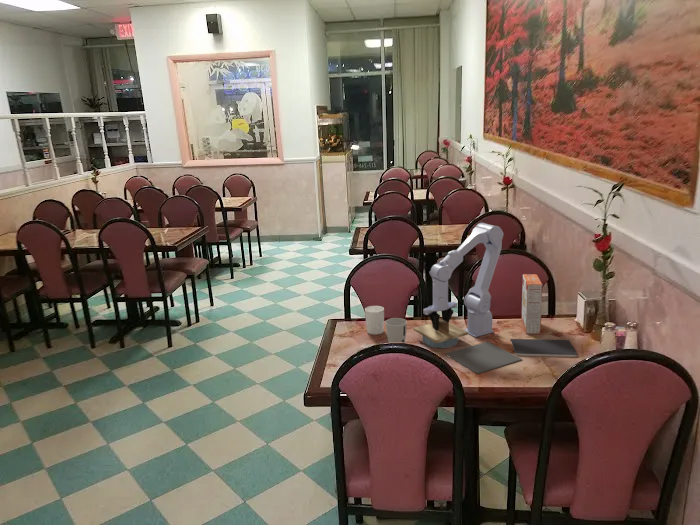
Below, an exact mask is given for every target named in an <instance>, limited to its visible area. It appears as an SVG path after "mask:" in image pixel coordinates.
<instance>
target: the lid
mask: <svg viewBox="0 0 700 525" xmlns="http://www.w3.org/2000/svg"><path fill="white" fill-rule="evenodd" d="M463 329H464V328H461V327H458V325H455V324H453V323H451V322H449V323H448V322H446V321H444V320H442V318H439V326H438V330H435V329H434V328H433V324H432V322H431V323H428V324H427V323H426V324H423V325H420V326H416V327H413V331H415V332H416V333H418V335H421V336H422V337H423V336H424V337H426V338H428V339H430V340H431V341H433V342H435V343H439V342H443V341H447V340H450V339H454V338H458V337H459V338H461V337H466V336H468V335H469V334H468V332H467V331H465V330H463Z"/></svg>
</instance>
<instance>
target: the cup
mask: <svg viewBox="0 0 700 525" xmlns="http://www.w3.org/2000/svg"><path fill="white" fill-rule="evenodd" d="M384 324H385V329H386V330H385V331H386V336H387V341H388V343H389V342H403V343H404V344H405V342H406V337H407V327H408V326H407V324H408V321H407V319H404V318H401V317H391V318H388V319H387V320H385V321H384Z"/></svg>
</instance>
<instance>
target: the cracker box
mask: <svg viewBox="0 0 700 525" xmlns="http://www.w3.org/2000/svg"><path fill="white" fill-rule="evenodd" d="M521 291H522V292H521V293H522V294H521V298H522V299H521V322H522V326H523V329H524V332H525V334H526V335H541V332H542V331H541V330H542V329H541V328H542V326H541V325H542V303H543V283H542V281H541V280H540V278H539V276H538V274H536V273H533V274H531V273H530V274H529V273H524V274H522V290H521Z"/></svg>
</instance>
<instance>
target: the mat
mask: <svg viewBox="0 0 700 525" xmlns="http://www.w3.org/2000/svg"><path fill="white" fill-rule="evenodd" d="M445 354H446V355H445ZM444 355H445V356H447V355H448V356H450V357H451V360H453V359H454V360H453V361H455V362H457V363H458V362H459V363H458V364H460V365H461V366H463V367H465V368H466V369H469V371H472V372H473V373H475V374H476V373H477V375H480V374H483V373H485V372H486V373H487V372H490V371H491V370H495V369H498V368H501V367H505V366H508V365H512V364H515V363H518V362H521V361H523V358H521V357H520V356H518V355H516V354H513V353H511V352H509V351H507V350H505V349H504V348H501V347H500V346H497V345H495V344H493V343H492V342H489V341H484V342H481V343H477V344H474V345H471V346H467V347H463V348H460V349H457V350H452V351H450V352H446V353H444ZM448 356H447V357H448ZM450 357H449V358H450Z"/></svg>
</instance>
